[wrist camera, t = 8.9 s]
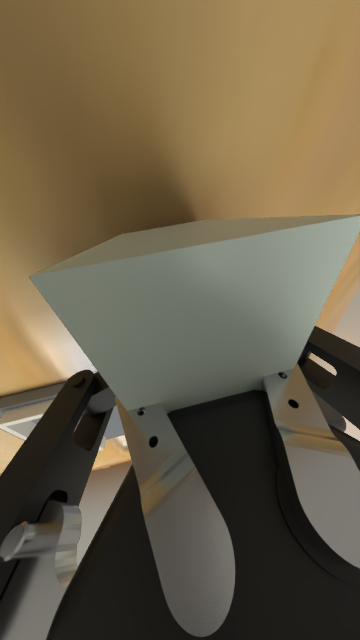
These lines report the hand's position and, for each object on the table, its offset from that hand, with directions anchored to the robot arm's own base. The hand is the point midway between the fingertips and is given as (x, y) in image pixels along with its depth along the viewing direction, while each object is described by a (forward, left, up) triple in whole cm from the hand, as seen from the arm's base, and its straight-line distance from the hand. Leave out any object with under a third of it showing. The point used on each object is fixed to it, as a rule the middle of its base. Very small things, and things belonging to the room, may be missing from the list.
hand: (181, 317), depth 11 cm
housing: (0, 0, -2) cm, 2 cm away
